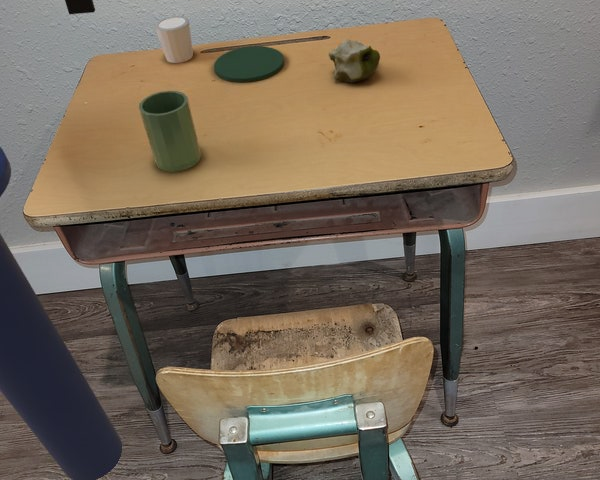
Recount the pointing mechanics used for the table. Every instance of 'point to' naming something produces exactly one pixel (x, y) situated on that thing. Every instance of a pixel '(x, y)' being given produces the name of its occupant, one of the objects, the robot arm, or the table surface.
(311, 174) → the table surface
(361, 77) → the grey and green rock
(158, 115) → the green cup
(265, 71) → the green mat
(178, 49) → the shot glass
